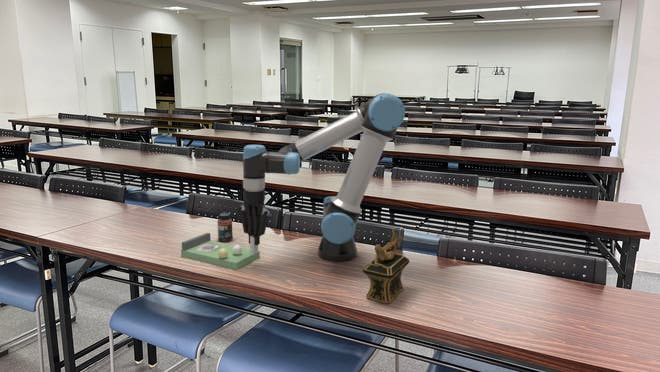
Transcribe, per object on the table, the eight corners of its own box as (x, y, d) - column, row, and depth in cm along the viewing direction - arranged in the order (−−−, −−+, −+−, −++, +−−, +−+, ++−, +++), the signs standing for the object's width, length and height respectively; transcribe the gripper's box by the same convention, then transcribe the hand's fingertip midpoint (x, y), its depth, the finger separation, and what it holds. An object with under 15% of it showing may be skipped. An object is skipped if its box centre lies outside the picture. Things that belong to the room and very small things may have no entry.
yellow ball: (230, 257, 169) (230, 247, 169) (223, 260, 166) (223, 250, 165) (222, 255, 171) (222, 246, 170) (216, 258, 168) (215, 249, 167)
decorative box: (389, 308, 139) (393, 245, 135) (360, 300, 143) (363, 239, 139) (412, 284, 156) (416, 228, 152) (385, 278, 161) (388, 223, 156)
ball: (244, 253, 173) (244, 244, 172) (238, 256, 170) (237, 247, 169) (236, 252, 175) (236, 242, 174) (230, 254, 172) (230, 245, 171)
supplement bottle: (226, 237, 199) (225, 211, 197) (235, 240, 196) (235, 214, 193) (215, 240, 195) (214, 214, 193) (224, 243, 191) (223, 216, 189)
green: (259, 257, 177) (259, 243, 176) (236, 269, 165) (235, 254, 163) (206, 245, 188) (206, 232, 187) (181, 256, 176) (180, 242, 175)
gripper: (275, 189, 164) (275, 253, 169) (245, 185, 170) (246, 246, 175) (263, 193, 157) (262, 259, 162) (232, 188, 163) (233, 252, 168)
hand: (254, 252), depth 168 cm, fingers closed
